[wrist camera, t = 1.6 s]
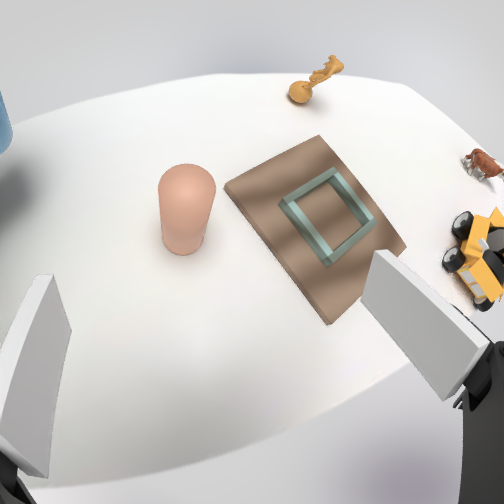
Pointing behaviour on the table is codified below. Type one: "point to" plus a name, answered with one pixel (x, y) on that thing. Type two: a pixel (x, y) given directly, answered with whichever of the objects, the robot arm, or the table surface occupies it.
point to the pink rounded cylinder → (185, 207)
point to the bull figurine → (484, 164)
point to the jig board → (316, 223)
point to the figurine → (303, 90)
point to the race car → (479, 256)
